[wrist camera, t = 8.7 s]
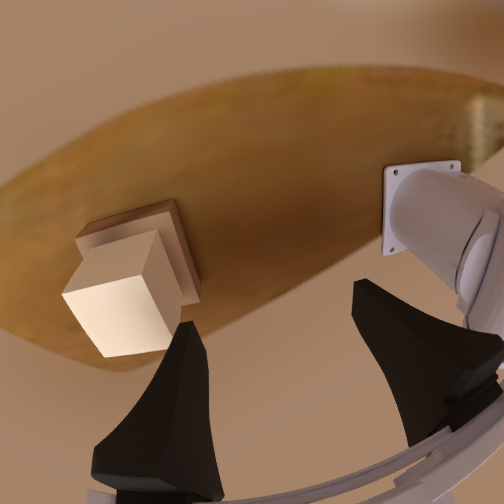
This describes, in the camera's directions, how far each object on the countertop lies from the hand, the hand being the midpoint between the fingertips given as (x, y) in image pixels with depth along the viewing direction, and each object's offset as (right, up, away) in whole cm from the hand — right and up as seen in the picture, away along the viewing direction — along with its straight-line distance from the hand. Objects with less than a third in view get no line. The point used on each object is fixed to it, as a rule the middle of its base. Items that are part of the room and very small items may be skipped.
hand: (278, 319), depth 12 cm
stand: (-9, +3, +8) cm, 12 cm away
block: (-9, +2, +6) cm, 11 cm away
